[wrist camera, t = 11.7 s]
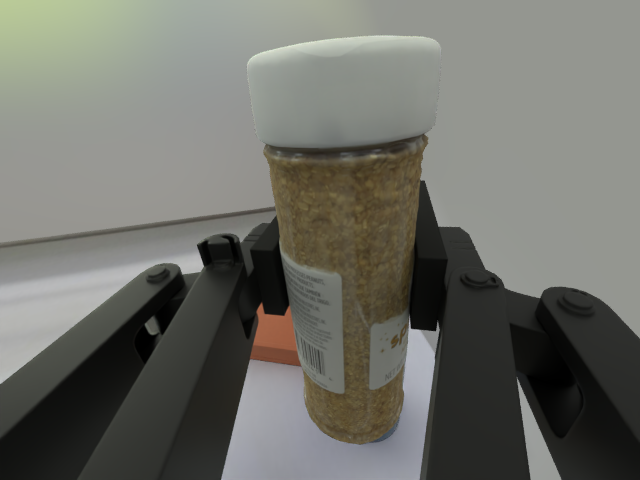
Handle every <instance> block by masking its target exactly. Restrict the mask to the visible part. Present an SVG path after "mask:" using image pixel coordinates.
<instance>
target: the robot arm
mask: <svg viewBox="0 0 640 480" xmlns="http://www.w3.org/2000/svg"><path fill="white" fill-rule="evenodd" d="M279 240H280V234H279V224H278V220H277V215H276V217H275V218H274V219H273V220H272V222H271V223H262V224H260V225H258V226H257V227H255V228H253V229H252V231H251V232H250V233H249V234H248V236H246V237H245V239H244V240H243V241H242V242H241V243H240V241H239V238H238V237H237V236H236V235H234V234H227V233H223V234H217V235H213V236H210V237H207V238H205V239H204V240H202V241H200V242H199V243H198V244H197V247H198V250H199V253H200V256H201V259H202V262H203V265H204V267H203V269H202V271H201V272H198V273H191V274H184V275H182V272H181V270H180V267H179V266H178V265H177V264H173V263H163V264H160V265H159V264H158V265H155V266H153V267H151V268H149V269H147V270H145V271H144V272H142V273H141V274H139V275H138V276H137V277H136V278H134V279H133V280H132V281H131V282H129V283H128V284H127V285H126V286H124V287H123V288H122V289H120V290H119V291H118V292H117V293H115V294H114V295H113V296H112V297H110V298H109V299H108V300H107V301H105V302H104V303H103V304H101V305H100V306H99V307H98V308H96V309H95V310H94V311H93V312H91V313H90V314H89V315H88V316H86V317H85V318H84V319H82V320H81V321H80V322H79V323H77V324H76V325H75V326H74V327H72V328H71V329H70V330H69V331H67V332H66V333H65V334H64V335H62V336H61V337H60V338H58V339H57V340H56V341H55V342H53V343H52V344H51V345H50V346H48V347H47V348H46V349H45V350H43V351H42V352H41V353H39V354H38V355H37V356H36V357H34V358H33V359H32V360H31V361H29V362H28V363H27V364H26V365H24V366H23V367H22V368H21V369H19V370H18V371H17V372H15V373H14V374H13V375H12V376H10V377H9V378H8V379H7V380H5V381H4V382H3V383H2V384H0V480H221V477H222V473H223V469H224V465H225V460H226V456H227V452H228V448H229V444H230V440H231V435H232V431H233V427H234V423H235V419H236V415H237V410H238V406H239V402H240V398H241V394H242V390H243V385H244V381H245V377H246V373H247V369H248V365H249V360H250V356H251V352H252V348H253V344H254V339H255V335H256V331H257V327H258V323H259V319H258V314H257V310H258V308H259V306H260V304H261V302H262V306H263V310H264V314H269V315H279V316H285V314H286V311H287V309H288V307H289V299H288V293H287V287H286V281H285V275H284V269H283V264H282V258H281V252H280V244H279ZM414 247H415V262H414V273H413V283H412V294H411V304H410V324H411V329H419V330H429V331H436V328H437V322H438V323H439V329H440V331H439V337H438V343H437V348H436V354H435V366H434V374H433V381H432V389H431V397H430V404H429V412H428V420H427V427H426V435H425V443H424V451H423V458H422V466H421V474H420V480H530V473H529V465H528V458H527V451H526V443H525V435H524V428H523V421H522V414H521V406H520V398H519V391H518V385H517V378H518V380H519V382H520V385H521V387H522V390H523V392H524V394H525V396H526V399H527V401H528V403H529V405H530V408H531V410H532V412H533V415H534V417H535V419H536V422H537V424H538V426H539V429H540V431H541V433H542V435H543V438H544V440H545V442H546V444H547V447H548V449H549V452H550V454H551V456H552V458H553V461H554V463H555V465H556V467H557V470H558V472H559V474H560V477H561V479H562V480H640V339H639V337H638V336H637V335H636V334H635V333H634V332H633V331H632V330H631V329H630V328H629V327H628V326H627V325H626V324H625V323H624V322H623V321H622V320H621V318H620V317H619V316H618V315H617V314H616V313H615V312H614V311H613V310H612V309H611V308H610V307H609V306H608V305H606V304H605V303H604V302H603V301H601V300H600V299H598V298H596V297H594V296H593V295H591V294H588V293H587V292H584V291H580V290H578V289H574V288H566V287H551V288H548V289H546V290H544V291H543V293H542V296H541V298H536V297H531V296H528V295H523V294H520V293H516V292H513V291H510V290H508V289H505V288H504V284H503V282H502V280H501V279H500V278H499V277H497V275H495V274H494V273H492V272H490V271H488V270H485V267H484V265H483V263H482V261H481V259H480V257H479V255H478V253H477V251H476V250H475V246H474V244H473V243H472V240H471V238H470V236H469V234H468V233H467V232H465V231H464V230H462V229H461V228H460V227H438V224H437V221H436V217H435V214H434V211H433V207H432V204H431V200H430V197H429V194H428V191H427V187H426V184H425V181H420V187H419V207H418V212H417V220H416V230H415V243H414ZM151 318H153V320H154V322H155V324H156V326H157V329H156V330H155V331H154V332H152V333H151V334H150V333H149V332H148V330H147V328H146V326H145V324H146V323H147V322H148V321H149V320H150V319H151Z"/></svg>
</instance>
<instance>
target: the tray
mask: <svg viewBox="0 0 640 480" xmlns="http://www.w3.org/2000/svg"><path fill="white" fill-rule="evenodd" d="M257 314H258V319H259V323H258V327H257V331H256V335H255V339H254V344H253V348H252V352H251V356H250V359H255V360H262V361H269V362H276V363H283V364H290V365H297V366H301V363H300V361H299V357H298V351H297V346H296V340H295V334H294V328H293V322H292V316H291V310H290V305H289V307H288V309H287V311H286V314H285V316H279V315H269V314H264V310H263V306H262V302H261V304H260V306H259V308H258V310H257Z"/></svg>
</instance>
